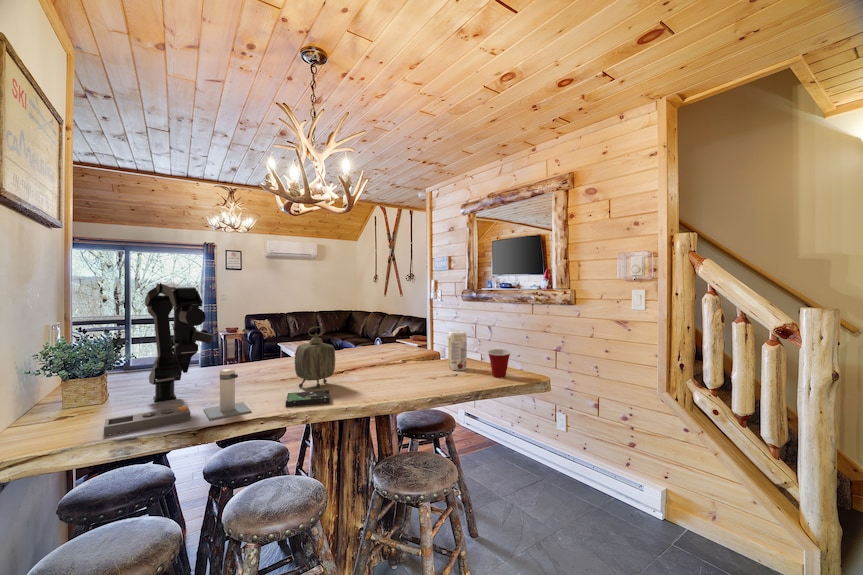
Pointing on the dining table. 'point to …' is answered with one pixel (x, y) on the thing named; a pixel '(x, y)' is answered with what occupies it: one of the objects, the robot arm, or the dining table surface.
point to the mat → (217, 414)
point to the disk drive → (308, 398)
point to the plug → (227, 390)
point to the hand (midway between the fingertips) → (183, 370)
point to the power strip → (146, 420)
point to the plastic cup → (499, 362)
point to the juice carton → (457, 350)
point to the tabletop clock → (314, 360)
